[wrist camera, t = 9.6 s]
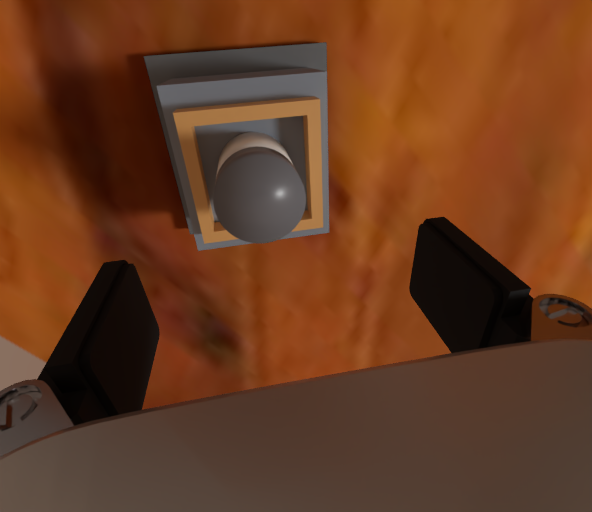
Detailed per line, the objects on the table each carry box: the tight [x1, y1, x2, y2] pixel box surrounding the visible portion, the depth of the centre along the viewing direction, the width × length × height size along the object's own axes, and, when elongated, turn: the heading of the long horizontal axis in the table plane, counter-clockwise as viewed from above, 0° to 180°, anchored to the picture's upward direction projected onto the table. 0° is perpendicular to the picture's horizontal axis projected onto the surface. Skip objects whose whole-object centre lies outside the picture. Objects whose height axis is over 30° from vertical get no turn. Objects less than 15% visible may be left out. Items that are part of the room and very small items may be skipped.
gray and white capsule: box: [213, 132, 306, 243], centre depth 20 cm, size 5×5×6 cm
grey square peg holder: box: [144, 43, 329, 251], centre depth 25 cm, size 14×13×8 cm
